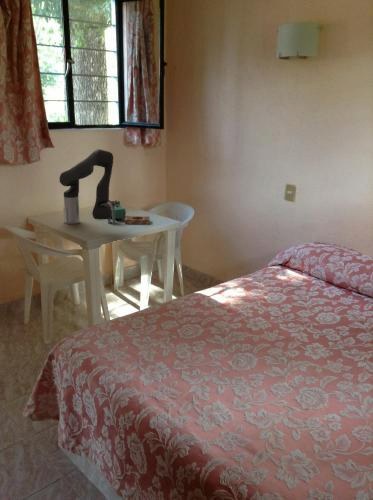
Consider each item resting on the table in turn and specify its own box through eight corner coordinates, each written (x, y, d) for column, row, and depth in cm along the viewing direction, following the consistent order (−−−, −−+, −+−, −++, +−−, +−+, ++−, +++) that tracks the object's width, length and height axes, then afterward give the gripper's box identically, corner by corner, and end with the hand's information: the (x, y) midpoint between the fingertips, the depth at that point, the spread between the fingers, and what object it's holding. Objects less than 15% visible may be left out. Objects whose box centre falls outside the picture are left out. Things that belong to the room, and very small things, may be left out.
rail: (124, 224, 284) (124, 219, 283) (126, 220, 294) (125, 216, 293) (149, 224, 285) (149, 220, 284) (149, 220, 294) (149, 216, 294)
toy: (119, 198, 317) (128, 206, 290) (119, 211, 320) (128, 220, 293) (102, 199, 313) (110, 207, 286) (103, 212, 316) (111, 221, 289)
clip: (114, 223, 285) (113, 205, 281) (108, 223, 284) (107, 205, 281) (114, 222, 288) (114, 204, 285) (108, 221, 288) (108, 204, 284)
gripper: (117, 200, 254) (120, 195, 270) (93, 200, 254) (97, 195, 269) (118, 213, 257) (120, 207, 272) (94, 213, 256) (97, 207, 271)
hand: (109, 201), depth 271 cm, fingers open, 8 cm apart
